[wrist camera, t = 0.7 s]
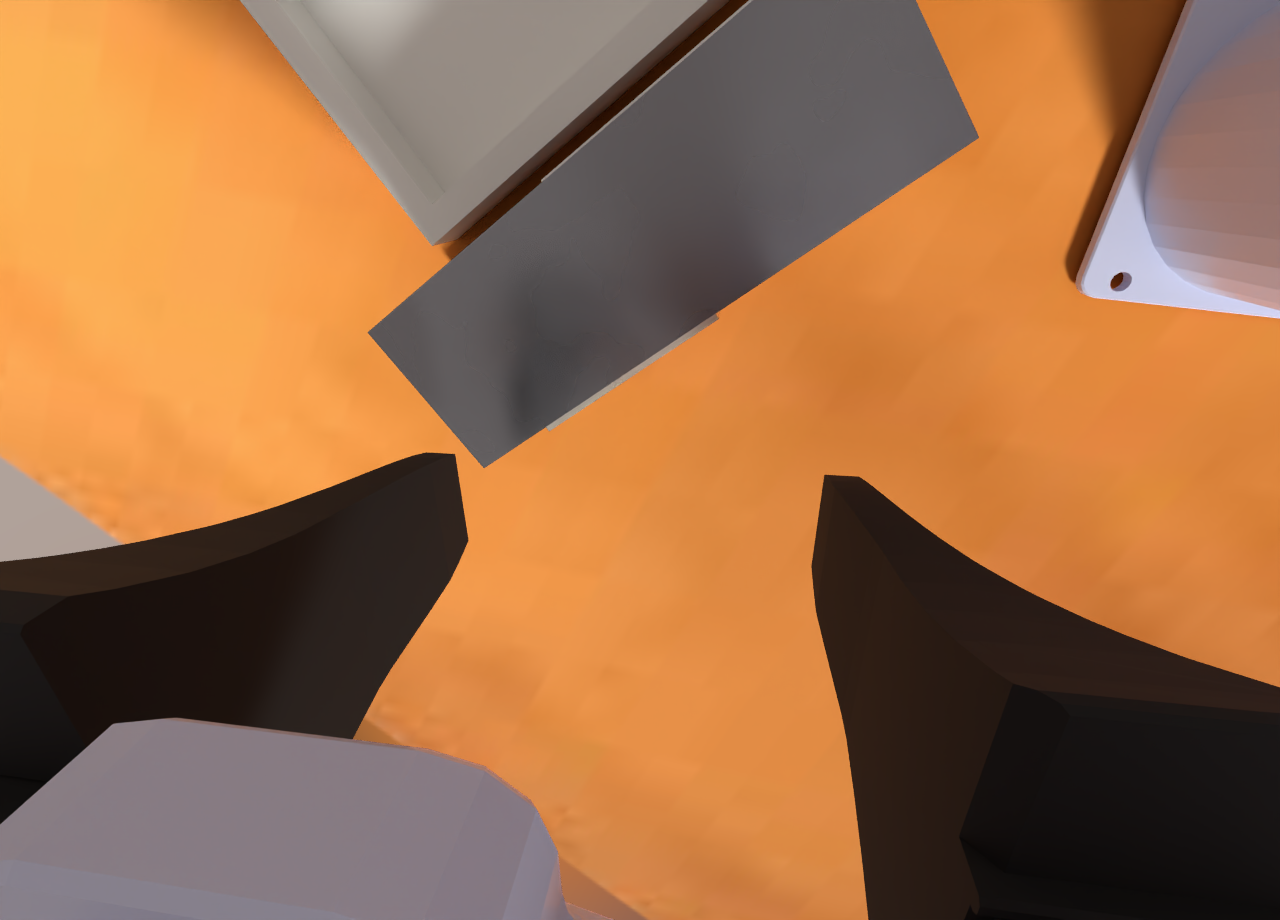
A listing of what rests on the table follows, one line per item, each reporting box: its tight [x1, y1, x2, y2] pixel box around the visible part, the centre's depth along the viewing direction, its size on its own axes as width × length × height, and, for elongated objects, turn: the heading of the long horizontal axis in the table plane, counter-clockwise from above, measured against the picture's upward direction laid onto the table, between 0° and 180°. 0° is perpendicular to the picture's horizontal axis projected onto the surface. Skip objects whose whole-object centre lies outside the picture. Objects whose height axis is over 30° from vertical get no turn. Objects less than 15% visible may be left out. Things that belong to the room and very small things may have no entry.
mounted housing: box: [368, 0, 979, 468], centre depth 15 cm, size 13×5×7 cm, turn 126°
